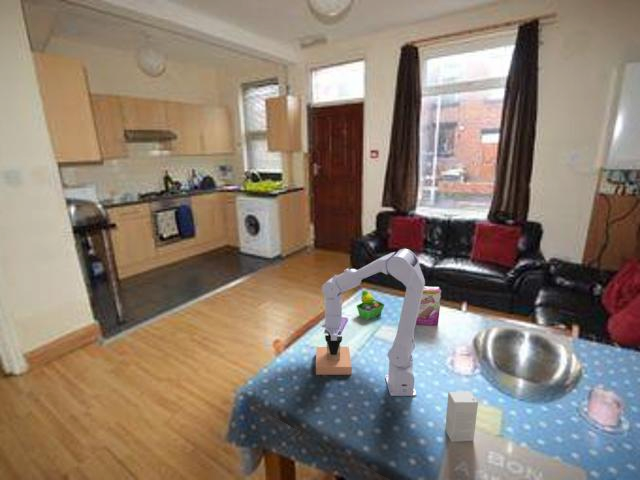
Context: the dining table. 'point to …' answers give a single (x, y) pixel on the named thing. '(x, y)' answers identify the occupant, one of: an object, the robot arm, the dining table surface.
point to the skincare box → (461, 416)
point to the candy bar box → (429, 306)
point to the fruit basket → (369, 306)
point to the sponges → (344, 321)
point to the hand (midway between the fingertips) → (333, 347)
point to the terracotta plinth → (333, 362)
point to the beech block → (333, 357)
